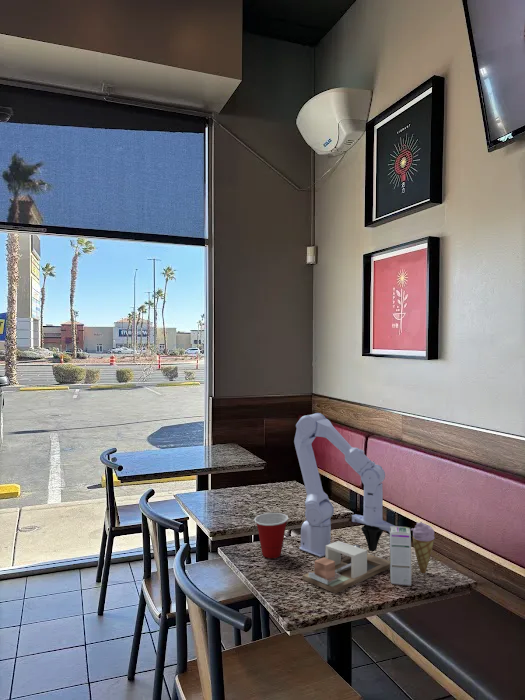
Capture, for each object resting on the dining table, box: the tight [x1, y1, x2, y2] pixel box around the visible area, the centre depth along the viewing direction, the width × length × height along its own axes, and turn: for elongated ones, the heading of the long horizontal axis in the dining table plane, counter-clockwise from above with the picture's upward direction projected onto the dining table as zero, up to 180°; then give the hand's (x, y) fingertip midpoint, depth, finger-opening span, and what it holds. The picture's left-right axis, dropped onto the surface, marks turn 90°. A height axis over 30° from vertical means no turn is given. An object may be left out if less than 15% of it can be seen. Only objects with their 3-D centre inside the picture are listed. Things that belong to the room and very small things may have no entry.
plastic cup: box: [253, 512, 289, 559], centre depth 169 cm, size 11×11×12 cm
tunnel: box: [324, 540, 368, 578], centre depth 155 cm, size 10×6×6 cm, turn 43°
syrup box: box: [389, 525, 412, 586], centre depth 151 cm, size 6×6×14 cm
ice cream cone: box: [410, 521, 435, 574], centre depth 157 cm, size 7×6×15 cm
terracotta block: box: [314, 557, 335, 579], centre depth 149 cm, size 4×4×4 cm
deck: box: [301, 553, 390, 594], centre depth 156 cm, size 12×27×1 cm, turn 133°
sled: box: [308, 544, 361, 585], centre depth 153 cm, size 7×18×5 cm, turn 133°
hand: (372, 550), depth 164 cm, fingers closed
